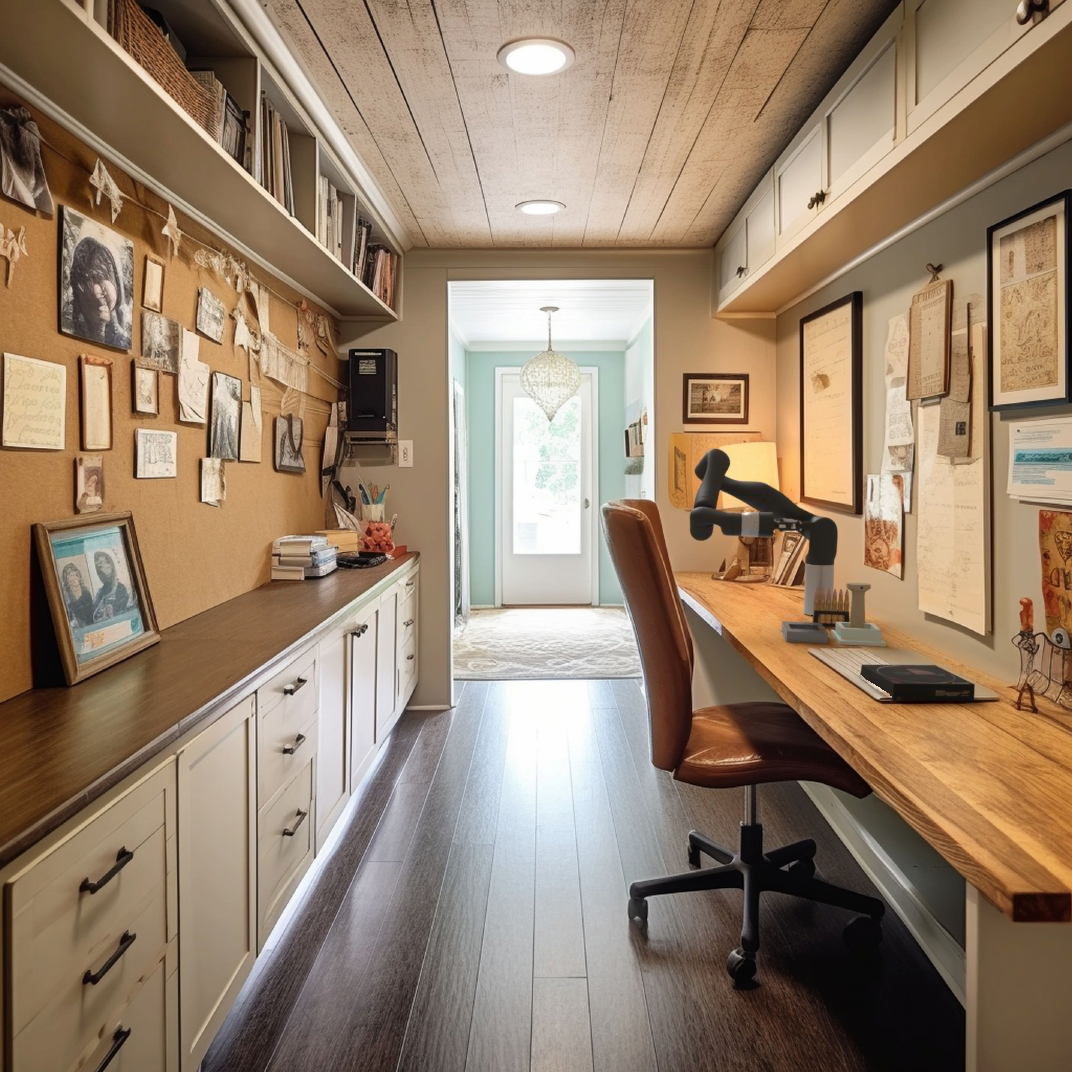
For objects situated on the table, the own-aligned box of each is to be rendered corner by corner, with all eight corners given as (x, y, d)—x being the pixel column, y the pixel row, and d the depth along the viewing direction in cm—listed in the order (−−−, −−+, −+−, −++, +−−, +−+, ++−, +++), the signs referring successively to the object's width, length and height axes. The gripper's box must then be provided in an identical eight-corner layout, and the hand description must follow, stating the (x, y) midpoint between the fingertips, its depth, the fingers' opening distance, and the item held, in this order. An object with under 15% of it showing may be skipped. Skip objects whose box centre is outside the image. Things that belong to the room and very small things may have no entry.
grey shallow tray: (830, 633, 226) (831, 619, 226) (874, 635, 223) (874, 621, 223) (839, 644, 210) (839, 630, 210) (886, 646, 208) (886, 632, 207)
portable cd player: (932, 681, 173) (933, 664, 173) (973, 703, 156) (974, 684, 156) (859, 681, 173) (860, 663, 173) (892, 702, 156) (893, 683, 156)
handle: (842, 634, 219) (844, 582, 218) (865, 634, 219) (866, 582, 218) (848, 637, 214) (850, 584, 213) (871, 637, 214) (873, 585, 213)
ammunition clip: (848, 627, 236) (849, 588, 235) (849, 628, 234) (850, 589, 233) (812, 625, 238) (813, 587, 238) (812, 626, 237) (813, 588, 236)
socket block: (781, 631, 229) (781, 621, 229) (820, 632, 227) (820, 622, 226) (786, 641, 214) (786, 631, 213) (827, 643, 211) (828, 633, 211)
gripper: (758, 513, 222) (817, 513, 219) (756, 511, 236) (811, 511, 233) (757, 538, 223) (816, 539, 219) (755, 535, 237) (810, 536, 233)
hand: (813, 525), depth 226 cm, fingers open, 8 cm apart
